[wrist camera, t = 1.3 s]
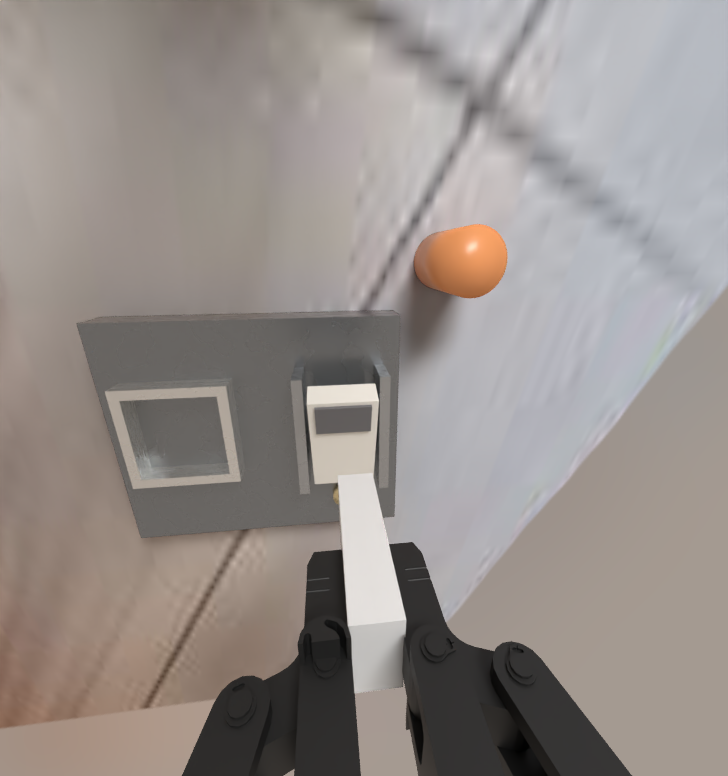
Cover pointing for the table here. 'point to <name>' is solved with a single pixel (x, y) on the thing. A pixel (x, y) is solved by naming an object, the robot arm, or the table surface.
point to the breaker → (342, 430)
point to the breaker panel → (236, 412)
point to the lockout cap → (462, 260)
